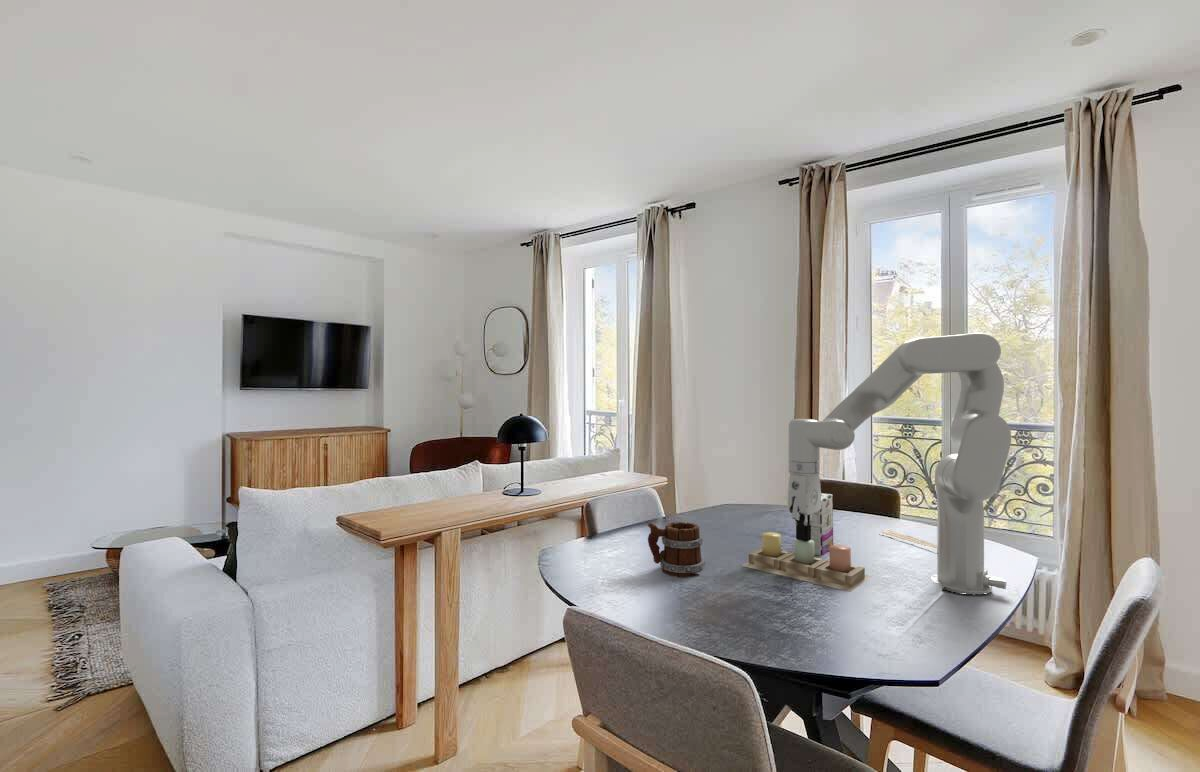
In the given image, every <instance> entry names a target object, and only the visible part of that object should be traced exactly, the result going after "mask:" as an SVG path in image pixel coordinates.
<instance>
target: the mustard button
mask: <svg viewBox="0 0 1200 772" xmlns="http://www.w3.org/2000/svg"><path fill="white" fill-rule="evenodd" d="M761 548H762V554H764V555H767V556H780V555H781V551H782V535H781V534H780V533H777V532H770V531H769V532H763V533H761Z"/></svg>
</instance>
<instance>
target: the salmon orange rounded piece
mask: <svg viewBox="0 0 1200 772" xmlns="http://www.w3.org/2000/svg"><path fill="white" fill-rule="evenodd" d="M851 551H852V549H851V547H850V546H848V545H843V544H842V545H841V544H833V545H831V546H829V552H828V553H829V556H828V557H829V559H828V561H829V567H830V568H831V569H833V570H837V571H850V570H851V565H852V563H851V562H852V557H851V556H852V552H851Z"/></svg>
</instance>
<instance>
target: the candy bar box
mask: <svg viewBox="0 0 1200 772" xmlns="http://www.w3.org/2000/svg"><path fill="white" fill-rule="evenodd" d="M833 501H834V500H833V494H831V493H822V492H821V509H820V510H819V511H818V512H815V513H814V514H813V515H812V523H811V524H810V525H811V540H813V541H814V555H816V556H824V555H825V554H826V553H829V546H831V545H834V512H833V511H834V507H833V506H834V504H833V503H834V502H833Z"/></svg>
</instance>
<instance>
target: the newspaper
mask: <svg viewBox="0 0 1200 772" xmlns="http://www.w3.org/2000/svg"><path fill="white" fill-rule="evenodd" d="M880 532H881V533H883V534H886V535H890V536H893V537H896V538H900V539H903V540H908V541H911V542H914V543H917V544H921V545H924V546H929V547H933V548H937V544H936V545H934V544H935V543H931V542H928V541H926V540H923V539H920V538H917V537H913V536H910V535H908V534H905V533H901V532H897V531H894V530H892V529H885V530H882V531H880Z"/></svg>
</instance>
